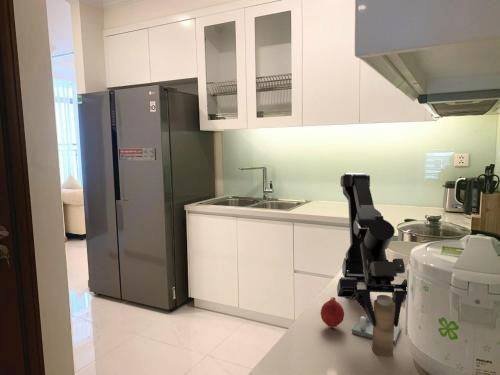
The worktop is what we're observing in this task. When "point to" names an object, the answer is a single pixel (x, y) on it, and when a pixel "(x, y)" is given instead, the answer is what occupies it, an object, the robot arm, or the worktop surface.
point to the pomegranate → (332, 313)
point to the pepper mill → (383, 326)
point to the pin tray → (370, 328)
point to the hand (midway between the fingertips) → (385, 325)
